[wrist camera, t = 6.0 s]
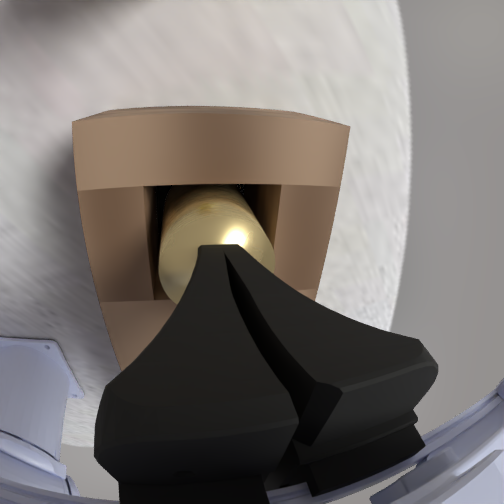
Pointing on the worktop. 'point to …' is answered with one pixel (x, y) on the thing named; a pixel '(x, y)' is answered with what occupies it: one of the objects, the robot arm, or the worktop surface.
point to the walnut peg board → (199, 172)
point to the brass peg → (205, 231)
